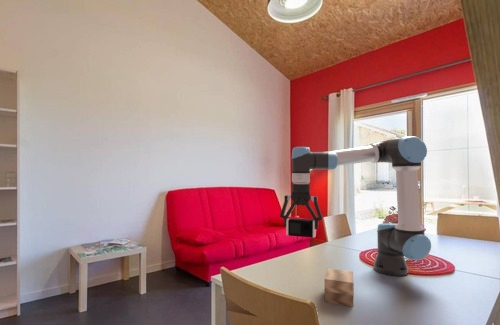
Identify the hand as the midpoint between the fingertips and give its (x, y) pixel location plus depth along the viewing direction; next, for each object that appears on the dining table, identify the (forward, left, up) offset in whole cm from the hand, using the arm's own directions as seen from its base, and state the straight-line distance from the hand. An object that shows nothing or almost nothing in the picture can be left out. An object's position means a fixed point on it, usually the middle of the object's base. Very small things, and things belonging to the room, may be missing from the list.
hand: (300, 235), depth 121 cm
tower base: (-16, +4, -22) cm, 28 cm away
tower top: (-16, +4, -18) cm, 24 cm away
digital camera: (0, 0, 0) cm, 1 cm away
